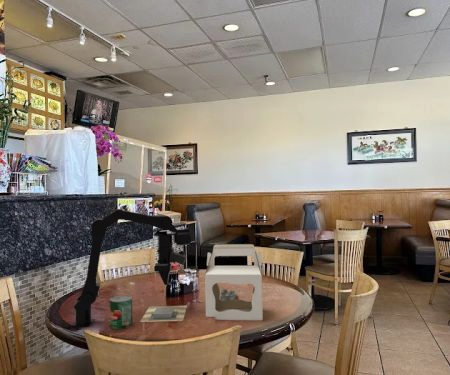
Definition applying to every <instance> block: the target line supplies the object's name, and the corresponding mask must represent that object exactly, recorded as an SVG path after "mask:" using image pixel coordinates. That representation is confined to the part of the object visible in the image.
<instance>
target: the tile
mask: <svg viewBox="0 0 450 375" xmlns="http://www.w3.org/2000/svg"><path fill="white" fill-rule="evenodd" d="M156 307H157V306H156ZM173 313H174V307H157V308H156V310H155V312H154V313H153V318H172V316H173Z"/></svg>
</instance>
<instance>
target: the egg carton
mask: <svg viewBox="0 0 450 375" xmlns="http://www.w3.org/2000/svg"><path fill="white" fill-rule="evenodd" d="M237 293H238V290H231V289H230V290H229V291H228V289H227V288H224V287H222V288H221V290H220V296H219V298H220V300H221V301H229V300H234V299H237Z"/></svg>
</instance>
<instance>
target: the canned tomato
mask: <svg viewBox="0 0 450 375" xmlns="http://www.w3.org/2000/svg"><path fill="white" fill-rule="evenodd" d="M109 316H110V317H109V320H110V321H109V326H110V329H113V330H122V331H114V333H117V334H118V333H126V332H127V331H126V330H125V331H123V329H128V328H130V327H133V296H132V295H128V294H125V295H124V294H123V295H122V294H121V295H114V296H112V297H110V298H109Z"/></svg>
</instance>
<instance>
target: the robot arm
mask: <svg viewBox="0 0 450 375" xmlns="http://www.w3.org/2000/svg"><path fill="white" fill-rule="evenodd" d="M120 220H121V221H122V220H123V221H127V222H133V223H134V222H135V223H139V224H140V223H141V224H144V225H150V226H152V227H154V228H158V229H156V230H155V231H154V233H153V234H152V235H153V236H154V237H157V251H156V252H157V253H158V255H157V256H158V259H157V263H156V264H155V265H154V267H153V269H154V270H153V271H154V272H155V273H158V274H159V276H160V278H161V280H162V282H163V284H164V286H167V285H168V284H169V279H170V274H171V271H172V270H173V268H174V267H175V265H172V264H171V263H173V264H176V263H179V264H180V265H183V266H184V264H185V263H186V259H187V257H188V256H187V254H185V251H184V250H180V251H179V252H178V251H177V252H176V251H175V248H173V244H175V246H190V245H191V243H192V236H191V232H190V228H188V227H187V228H183V229H179V228H177V227H175V226H174V224H173V222H174V221H173V219H172V218H171V217H170V216H168V215H164V214H163V215H160V214H159V215H158V214H157V215H151V214H145V213H139V212H134V211H129V210H124V209H121V208H116V209H115V210H114V211H113V212H110V214H108V215H106V216H105V217H103V218H96V219H95V220H93V222H91V228H90V229H91V230H90V231H91V246H90V253H89V260H88V266H87V267H88V268H87V272H86V279H85V281H84V285H83V288H82V291H81V292H80V293H81V294H80V295H79V296H78V297H77V298H76V300H75V302H74V305H73V308H74V312H75V316H74V323H72V324H71V327H72V328H73V327H74V328H75V327H89V326H91V325H92V324H93V323H94V322H95V320H96V319H94V318H92V304H94V303H95V302H96V301H97V298H99V297H100V296H99V294H100V287H101V282H98V281H97V280H98V278H97V277H98V270H99V264H100V258H101V250H102V244H103V241H104V239H105V236H106V233H107V229H108V227H110V226H112V225H113V224H115V223H116V222H118V221H120ZM159 229H160V230H163V231H160V230H159ZM168 231H169V232H168Z"/></svg>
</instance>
